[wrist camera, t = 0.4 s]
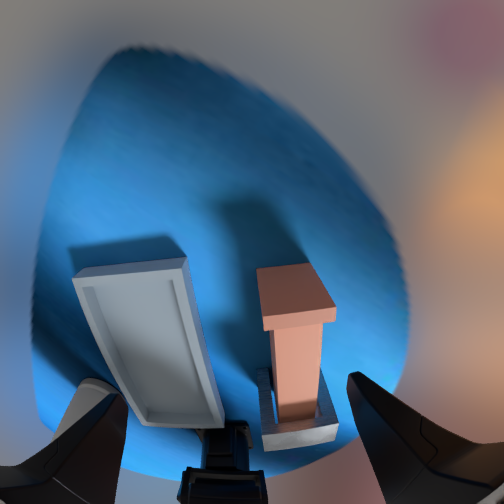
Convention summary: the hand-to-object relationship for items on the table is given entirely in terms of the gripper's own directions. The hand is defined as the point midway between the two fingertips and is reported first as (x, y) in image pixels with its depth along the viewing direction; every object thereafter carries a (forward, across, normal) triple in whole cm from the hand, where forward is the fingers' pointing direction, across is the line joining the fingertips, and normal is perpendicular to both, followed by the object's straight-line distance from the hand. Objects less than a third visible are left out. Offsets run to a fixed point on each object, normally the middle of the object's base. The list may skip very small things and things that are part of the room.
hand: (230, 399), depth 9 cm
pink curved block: (+13, -4, +8) cm, 16 cm away
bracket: (+13, -4, +12) cm, 18 cm away
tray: (+13, +8, +8) cm, 17 cm away
